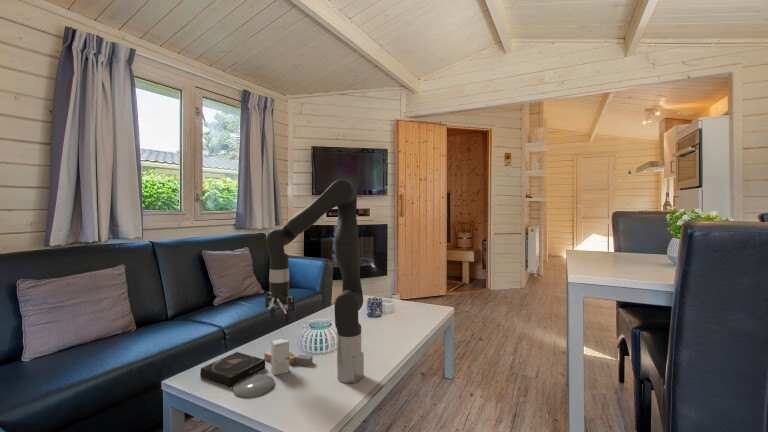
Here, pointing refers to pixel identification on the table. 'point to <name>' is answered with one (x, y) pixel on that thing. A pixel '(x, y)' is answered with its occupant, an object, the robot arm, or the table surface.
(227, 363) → the portable cd player
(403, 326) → the table surface
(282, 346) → the skincare box
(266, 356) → the terracotta brick
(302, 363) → the gray brick
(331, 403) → the table surface
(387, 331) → the table surface
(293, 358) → the tan brick
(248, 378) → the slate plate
